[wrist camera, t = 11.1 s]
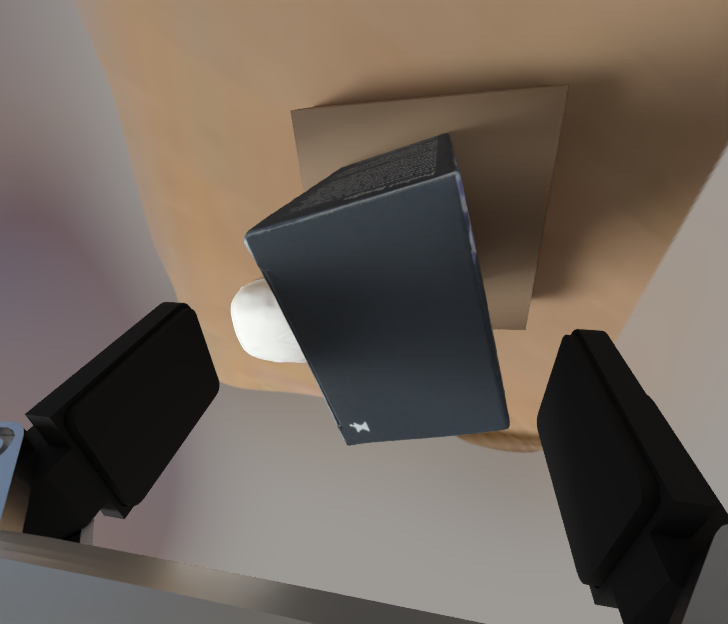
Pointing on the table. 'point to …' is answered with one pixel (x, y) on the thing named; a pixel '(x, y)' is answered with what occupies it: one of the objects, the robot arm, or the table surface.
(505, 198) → the walnut block
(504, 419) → the box
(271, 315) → the garlic
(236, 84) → the table surface
